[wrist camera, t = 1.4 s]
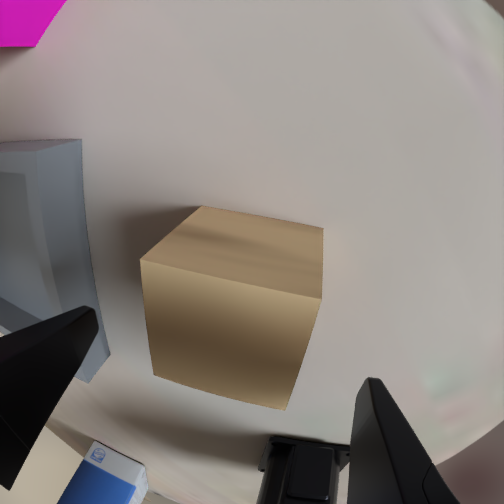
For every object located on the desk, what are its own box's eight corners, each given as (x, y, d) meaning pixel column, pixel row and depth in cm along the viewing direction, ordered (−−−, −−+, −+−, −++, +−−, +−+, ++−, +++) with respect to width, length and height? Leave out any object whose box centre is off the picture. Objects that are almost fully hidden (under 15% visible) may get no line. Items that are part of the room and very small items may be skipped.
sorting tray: (110, 354, 19) (88, 383, 16) (-2, 298, 21) (-22, 315, 18) (81, 139, 12) (36, 151, 10) (-32, 146, 14) (-62, 156, 12)
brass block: (299, 325, 14) (285, 410, 10) (198, 302, 15) (153, 374, 10) (323, 227, 12) (321, 299, 8) (202, 205, 13) (139, 259, 8)
